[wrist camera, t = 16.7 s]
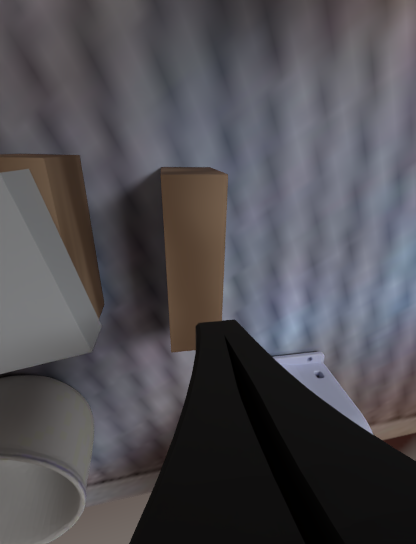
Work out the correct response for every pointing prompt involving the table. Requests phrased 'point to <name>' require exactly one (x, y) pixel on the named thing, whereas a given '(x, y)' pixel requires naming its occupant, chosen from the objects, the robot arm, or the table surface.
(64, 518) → the teacup
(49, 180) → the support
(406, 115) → the table surface
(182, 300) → the block
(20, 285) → the slab
